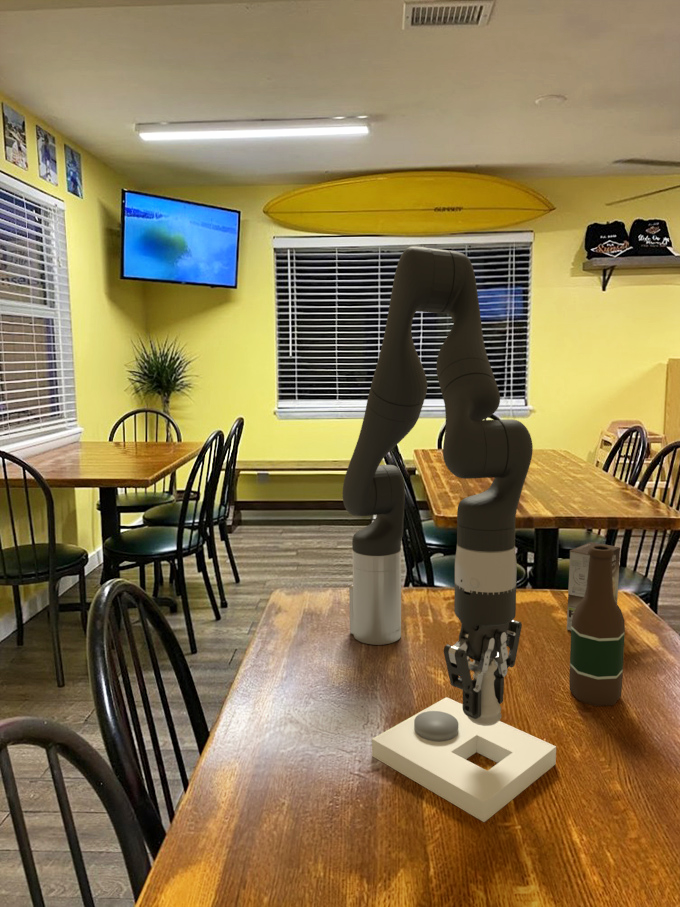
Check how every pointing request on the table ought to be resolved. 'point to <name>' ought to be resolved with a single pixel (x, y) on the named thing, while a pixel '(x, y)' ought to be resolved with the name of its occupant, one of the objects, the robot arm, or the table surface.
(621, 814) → the table surface
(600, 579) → the beer bottle
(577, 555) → the coffee box
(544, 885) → the table surface
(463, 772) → the carrier plate
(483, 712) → the rook chess piece
